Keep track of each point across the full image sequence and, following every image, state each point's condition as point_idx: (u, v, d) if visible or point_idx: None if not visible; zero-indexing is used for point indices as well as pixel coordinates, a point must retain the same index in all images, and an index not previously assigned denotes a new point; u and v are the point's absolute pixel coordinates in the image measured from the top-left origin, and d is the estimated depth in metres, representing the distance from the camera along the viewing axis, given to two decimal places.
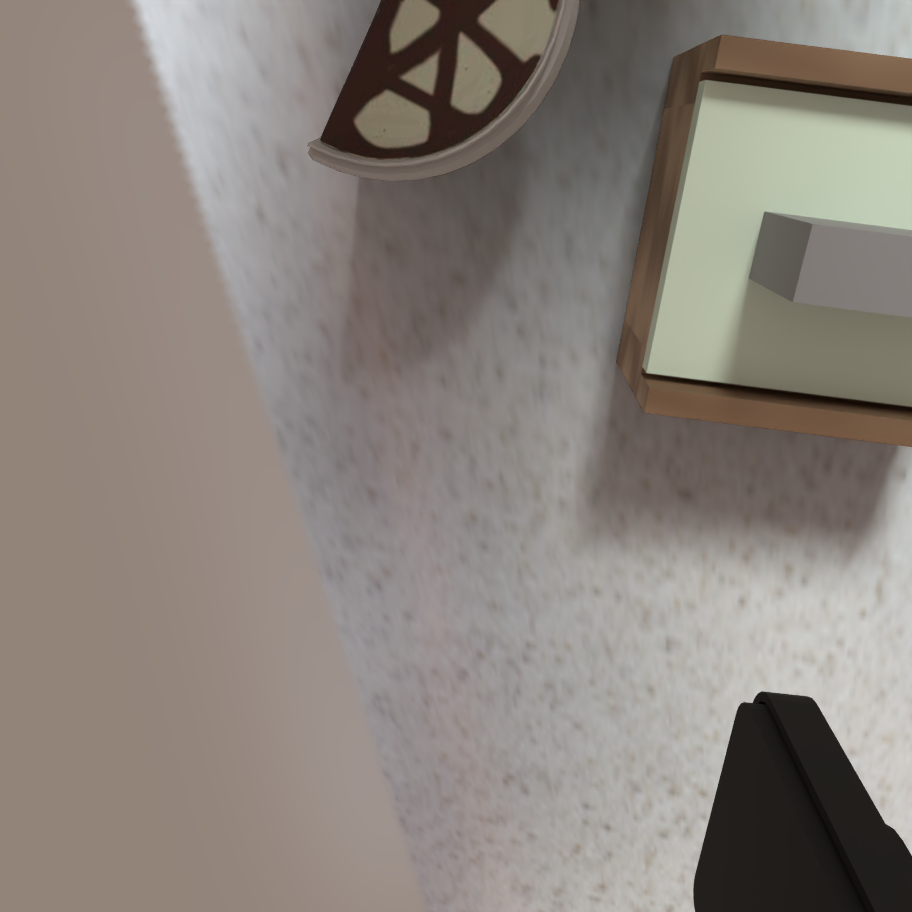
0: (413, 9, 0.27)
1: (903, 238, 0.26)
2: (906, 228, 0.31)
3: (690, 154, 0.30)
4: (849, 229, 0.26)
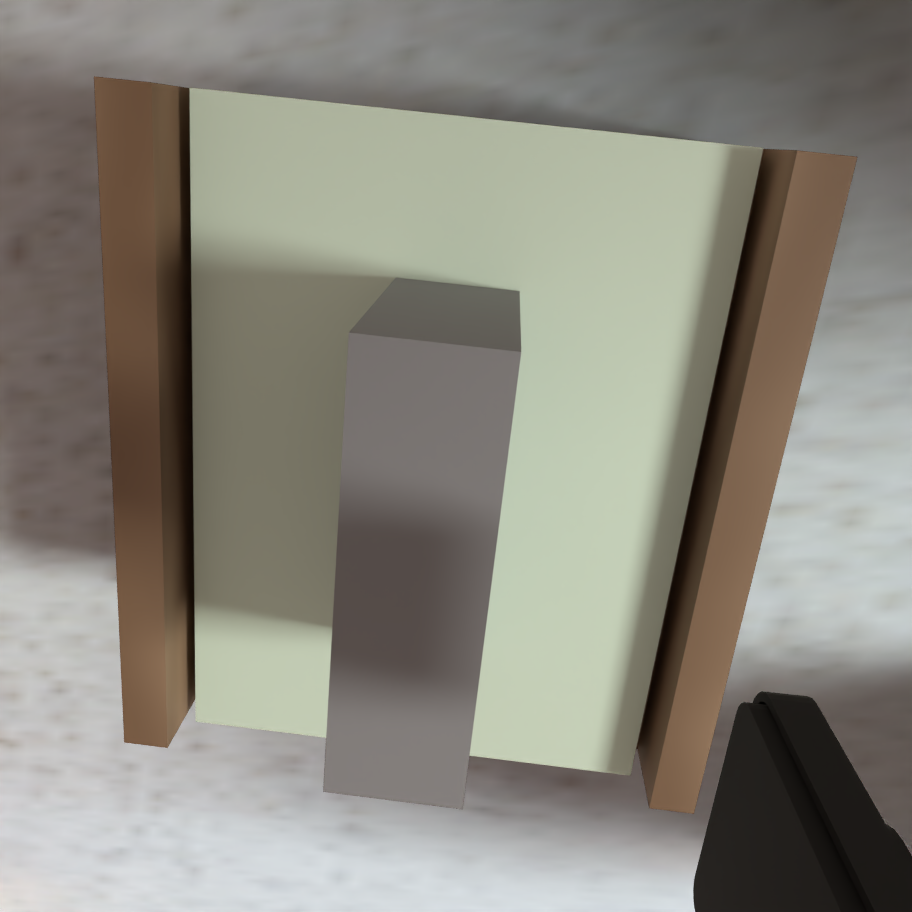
0: None
1: (492, 533, 0.13)
2: None
3: (627, 134, 0.16)
4: (509, 429, 0.12)
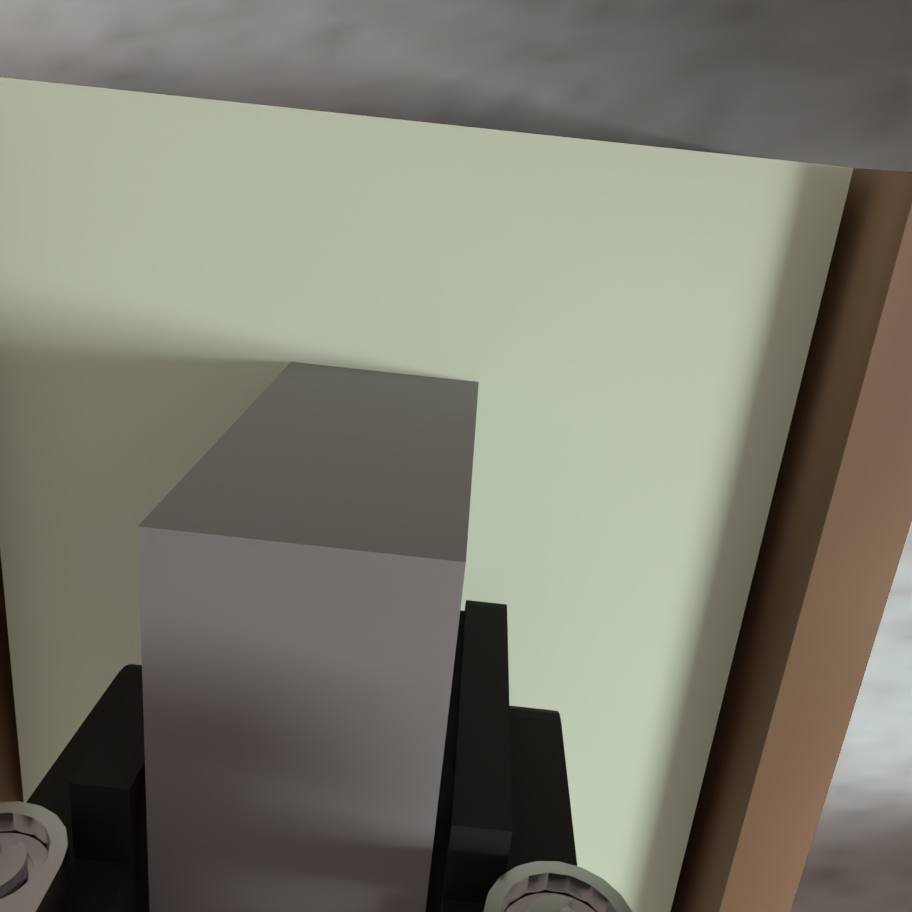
0: None
1: (421, 858, 0.07)
2: None
3: (641, 146, 0.10)
4: (447, 691, 0.07)
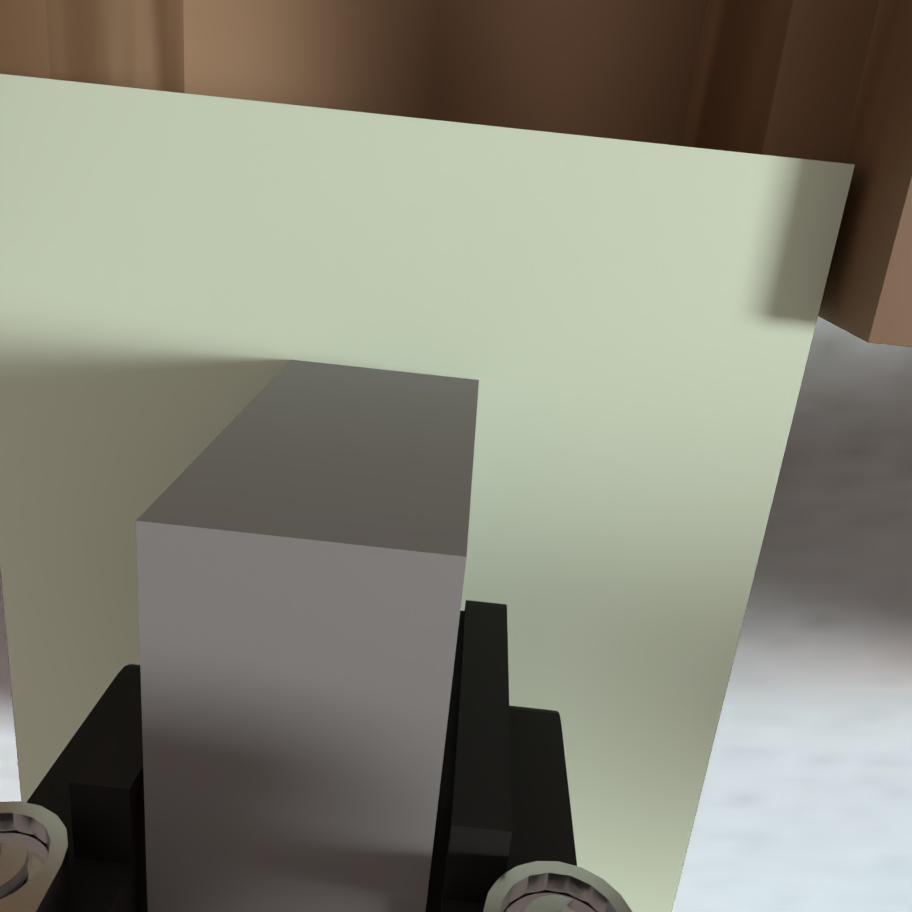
0: None
1: (421, 856, 0.07)
2: None
3: (642, 143, 0.10)
4: (447, 688, 0.07)
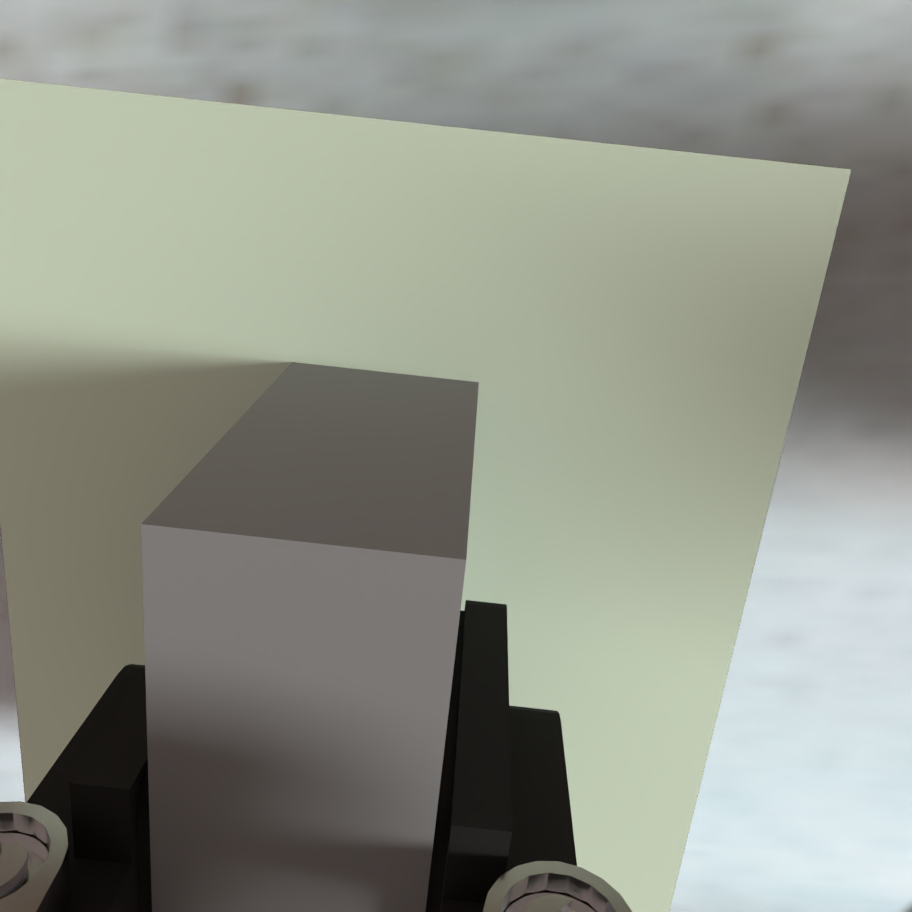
0: None
1: (421, 854, 0.07)
2: None
3: (641, 148, 0.10)
4: (448, 688, 0.07)
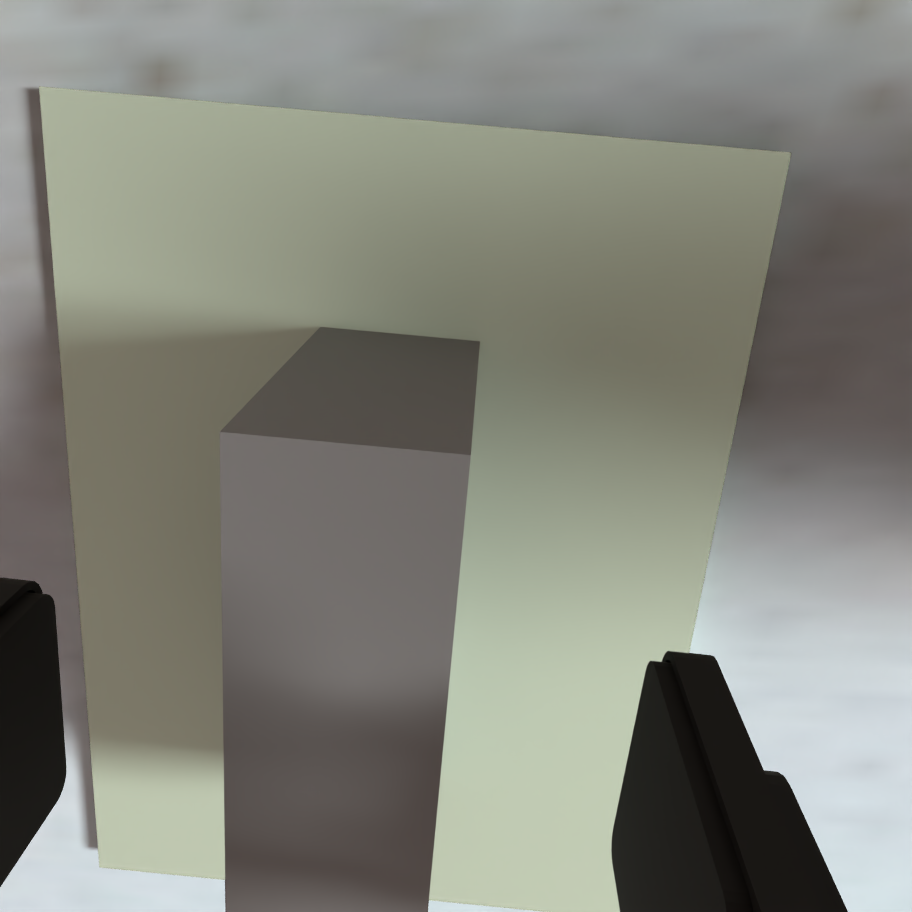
0: None
1: (439, 700, 0.09)
2: (454, 637, 0.15)
3: (613, 138, 0.12)
4: (458, 561, 0.09)
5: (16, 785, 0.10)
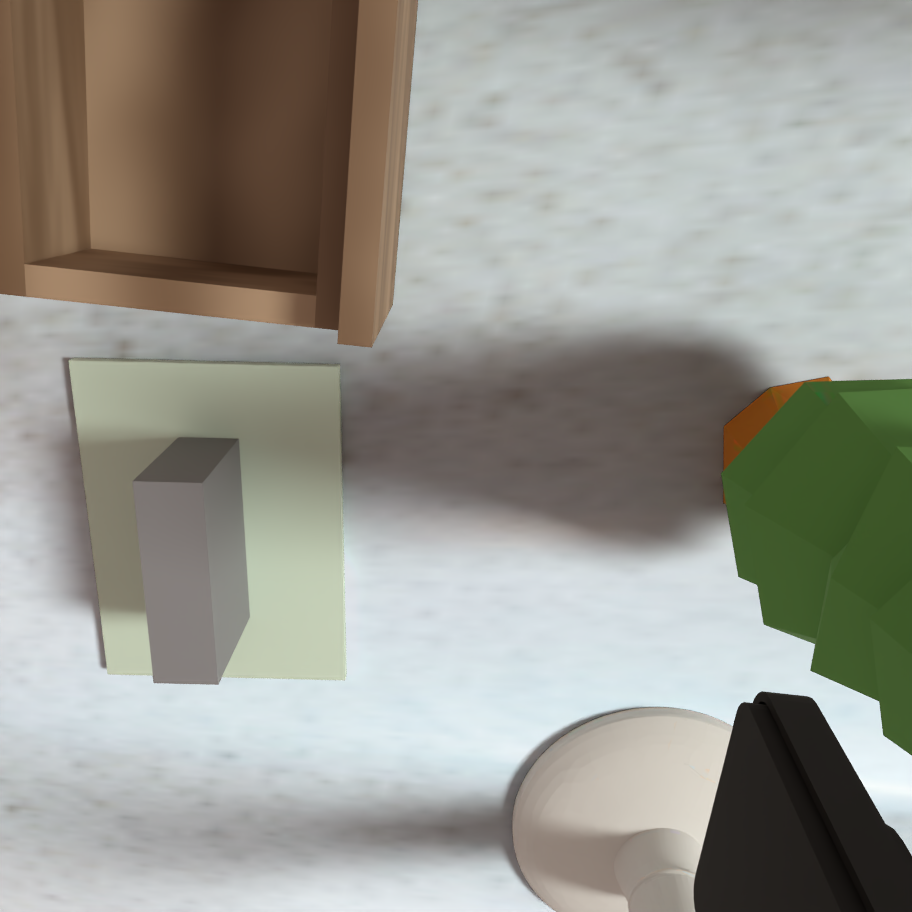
0: None
1: (205, 557, 0.30)
2: (246, 555, 0.36)
3: (275, 365, 0.33)
4: (204, 513, 0.30)
5: None
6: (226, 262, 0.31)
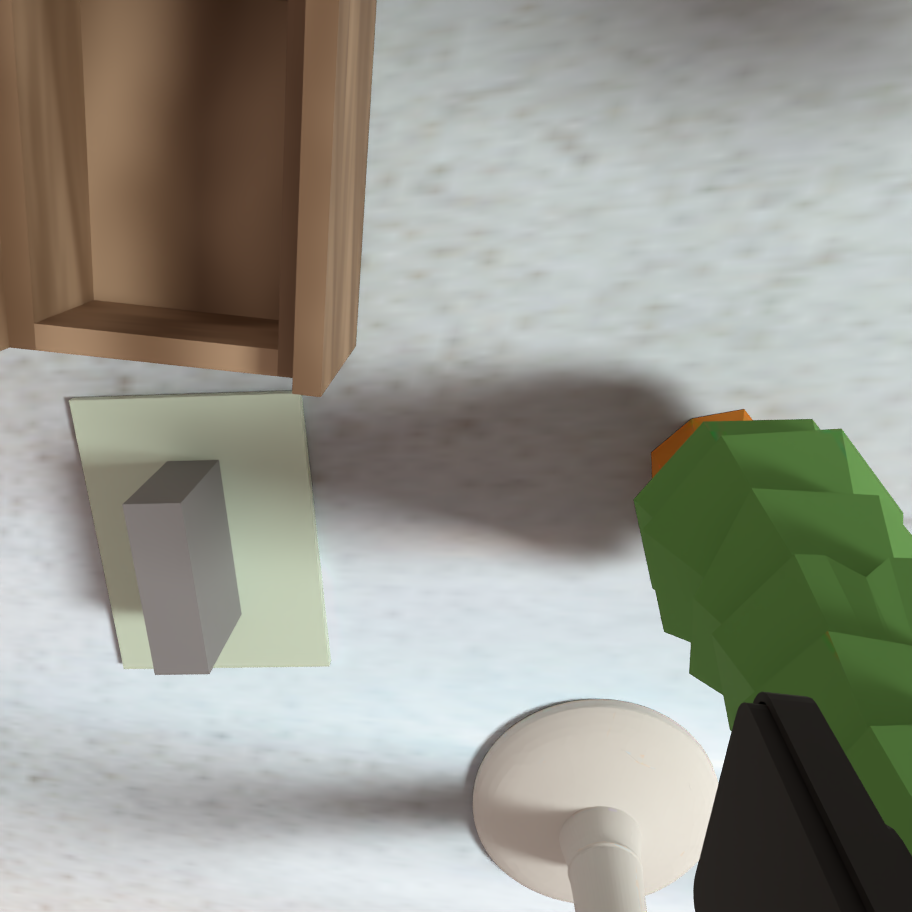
0: None
1: (189, 565, 0.35)
2: (234, 561, 0.41)
3: (245, 394, 0.38)
4: (184, 528, 0.35)
5: None
6: (209, 311, 0.36)
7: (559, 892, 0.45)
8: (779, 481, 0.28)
